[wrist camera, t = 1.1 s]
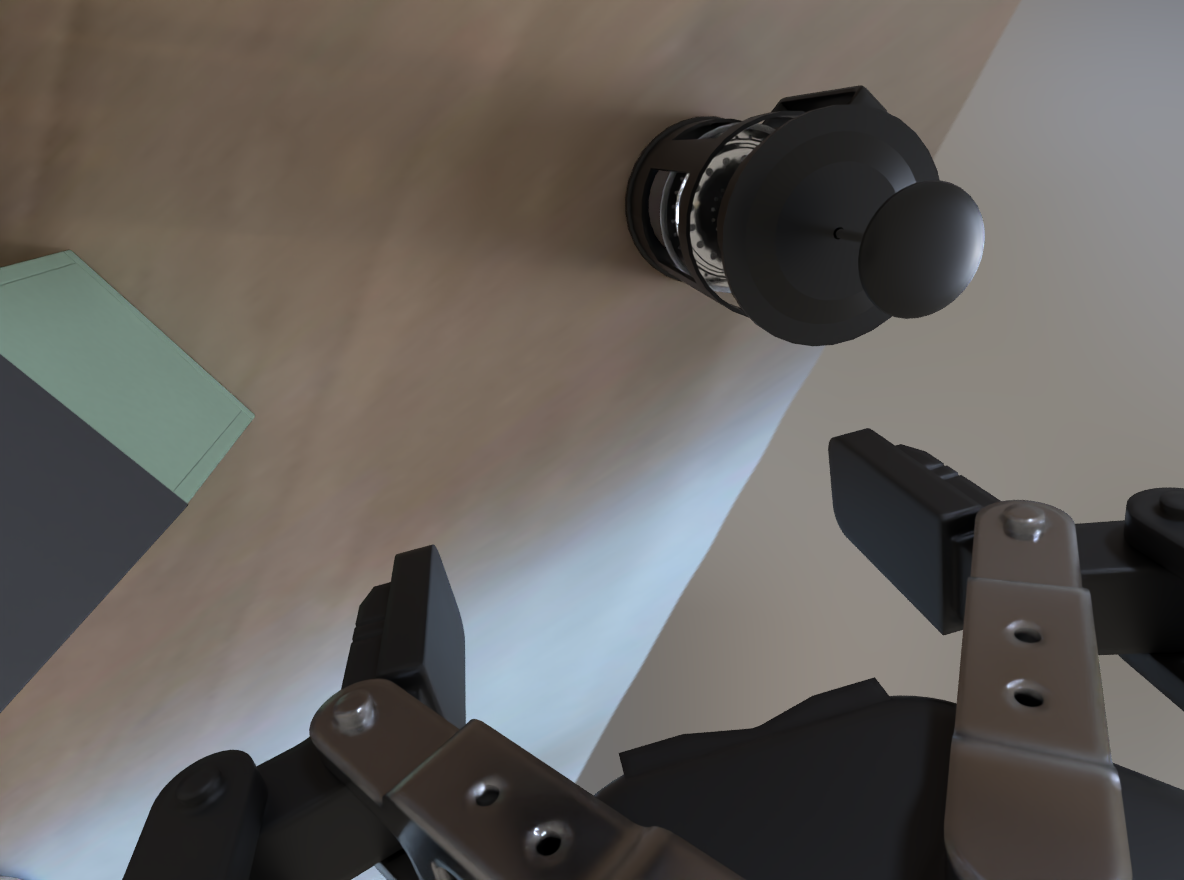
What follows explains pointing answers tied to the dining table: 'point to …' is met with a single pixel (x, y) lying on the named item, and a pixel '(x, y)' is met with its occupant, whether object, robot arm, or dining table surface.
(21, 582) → the lid
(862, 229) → the french press
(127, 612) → the dining table surface
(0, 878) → the cup
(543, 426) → the dining table surface
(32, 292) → the sage green box
